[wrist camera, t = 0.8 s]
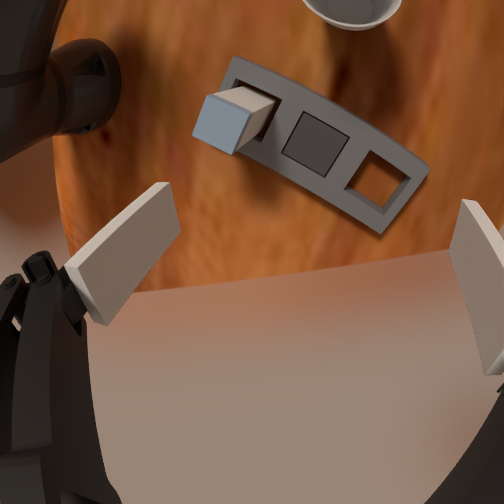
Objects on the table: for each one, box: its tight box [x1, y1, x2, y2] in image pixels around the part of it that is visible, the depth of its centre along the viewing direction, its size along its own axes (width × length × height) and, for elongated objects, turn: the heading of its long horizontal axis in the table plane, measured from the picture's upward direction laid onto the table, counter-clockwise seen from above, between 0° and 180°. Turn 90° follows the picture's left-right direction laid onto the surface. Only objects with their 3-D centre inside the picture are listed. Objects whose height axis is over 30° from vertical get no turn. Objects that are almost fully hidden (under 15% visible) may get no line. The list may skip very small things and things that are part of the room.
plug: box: [192, 86, 277, 155], centre depth 28 cm, size 4×4×10 cm
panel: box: [218, 56, 431, 234], centre depth 31 cm, size 24×10×2 cm, turn 65°
